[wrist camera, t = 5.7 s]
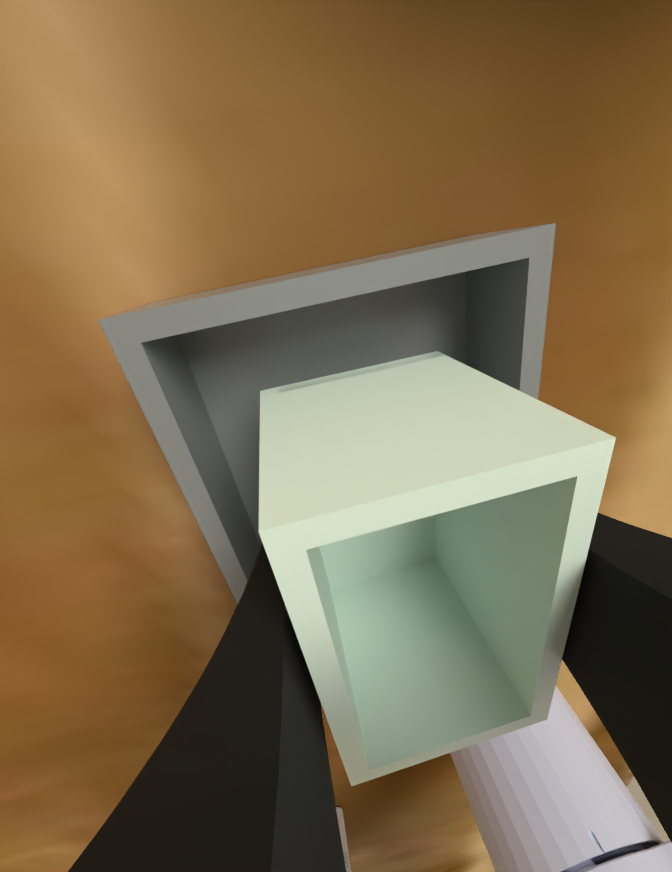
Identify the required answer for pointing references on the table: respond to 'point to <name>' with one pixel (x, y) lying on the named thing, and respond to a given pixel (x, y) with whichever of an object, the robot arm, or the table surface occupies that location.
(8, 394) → the table surface
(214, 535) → the large crate
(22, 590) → the table surface
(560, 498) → the small crate
